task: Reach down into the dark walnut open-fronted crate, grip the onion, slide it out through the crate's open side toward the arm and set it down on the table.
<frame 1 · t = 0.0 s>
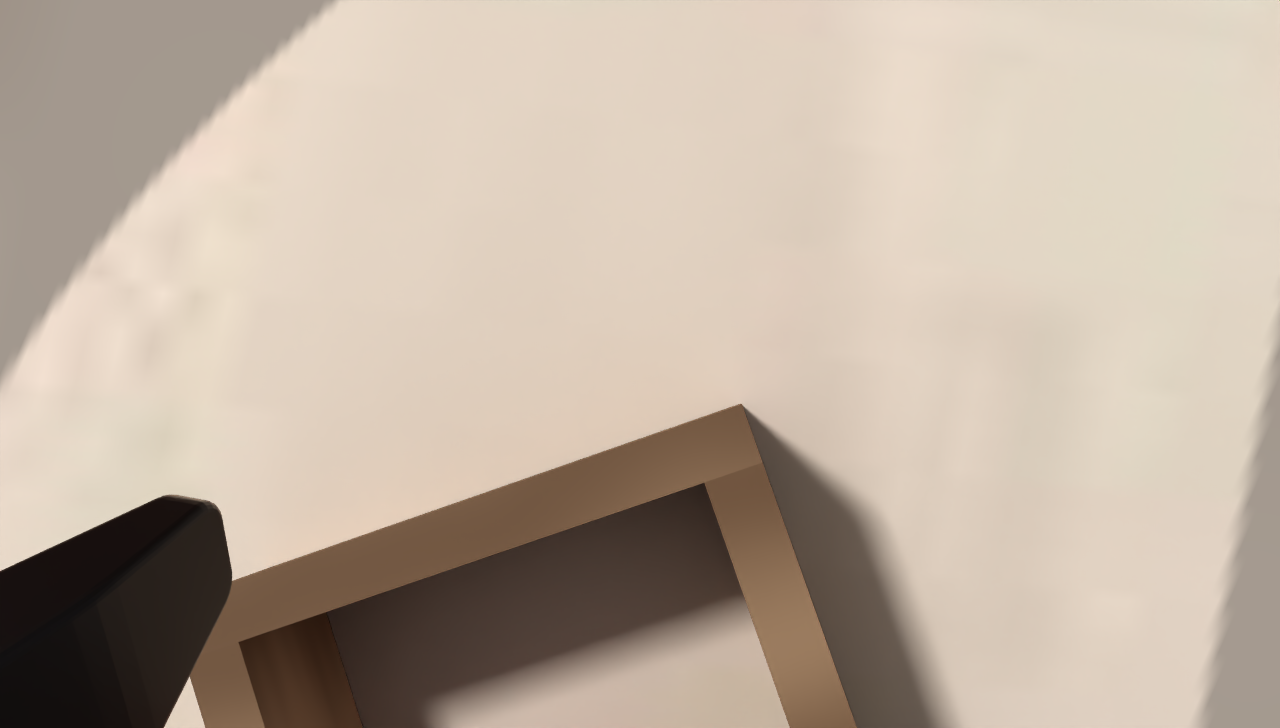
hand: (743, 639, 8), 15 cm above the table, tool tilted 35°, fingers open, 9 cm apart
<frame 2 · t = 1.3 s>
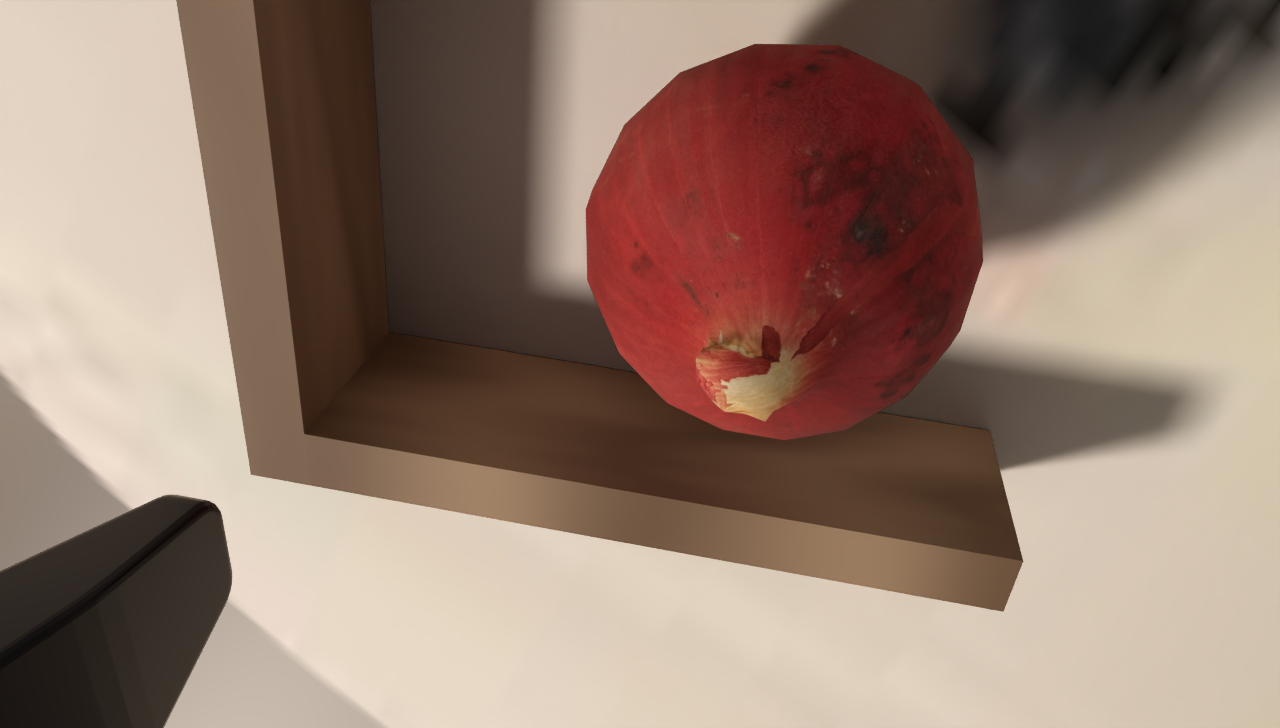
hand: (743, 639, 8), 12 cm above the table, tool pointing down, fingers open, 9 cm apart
onion: (789, 161, 18), resting in crate
crate: (676, 149, 18), on the table
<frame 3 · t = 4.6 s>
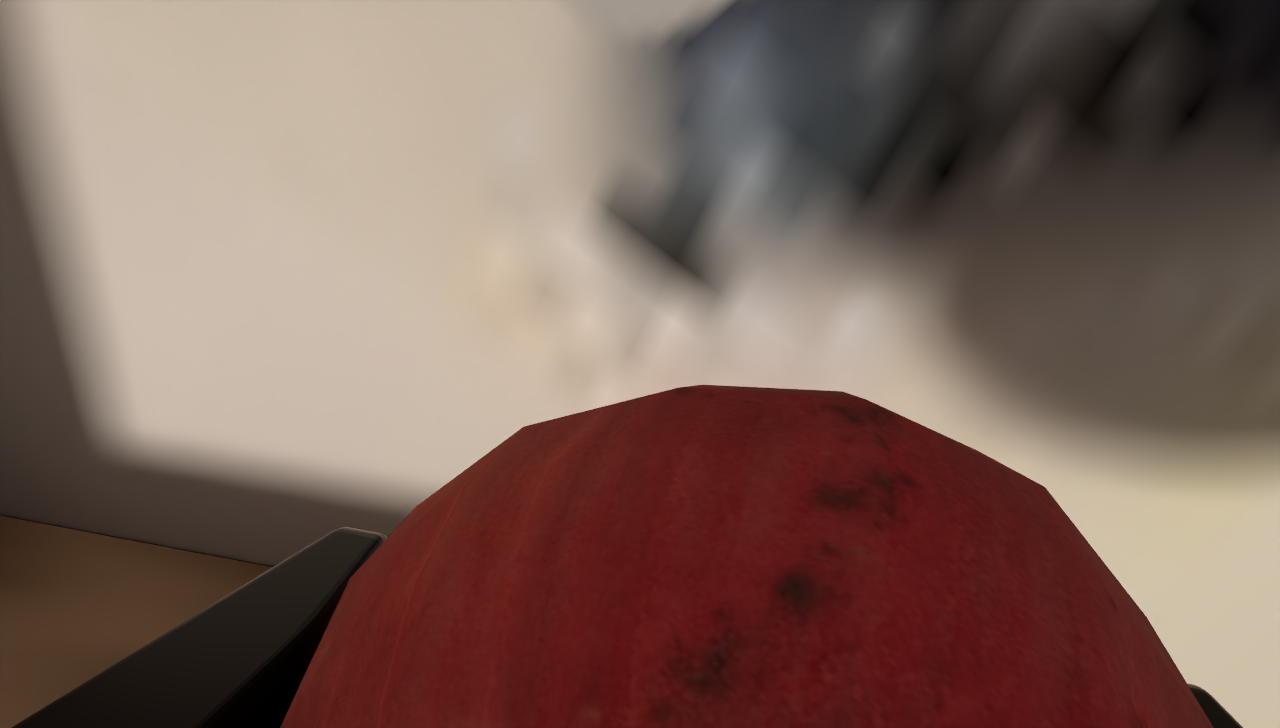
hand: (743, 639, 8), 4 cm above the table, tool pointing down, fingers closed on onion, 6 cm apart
onion: (761, 473, 10), point 2 cm above the table, touching gripper
crate: (244, 272, 12), on the table
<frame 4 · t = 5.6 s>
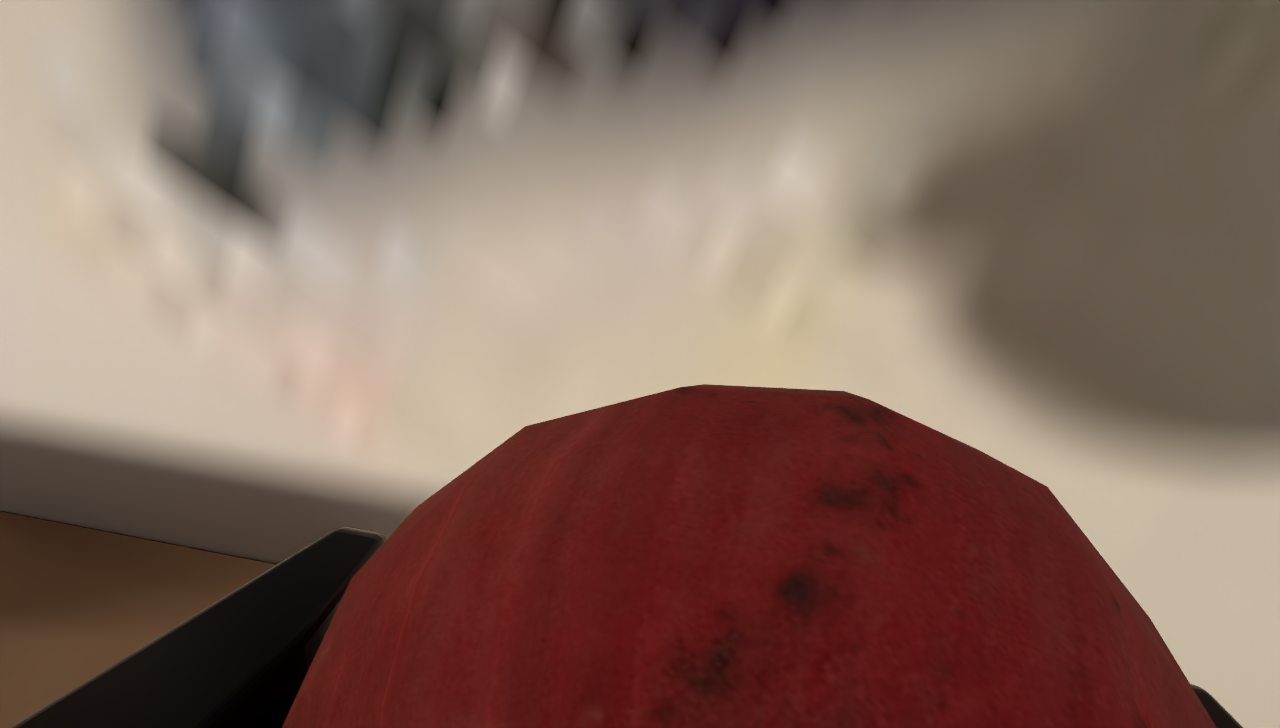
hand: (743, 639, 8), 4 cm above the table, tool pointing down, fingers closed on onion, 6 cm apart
onion: (763, 473, 10), point 2 cm above the table, touching gripper
when the fingers open (3 cm above the table, at t = 6.4 s): onion stays where it is, on the table.
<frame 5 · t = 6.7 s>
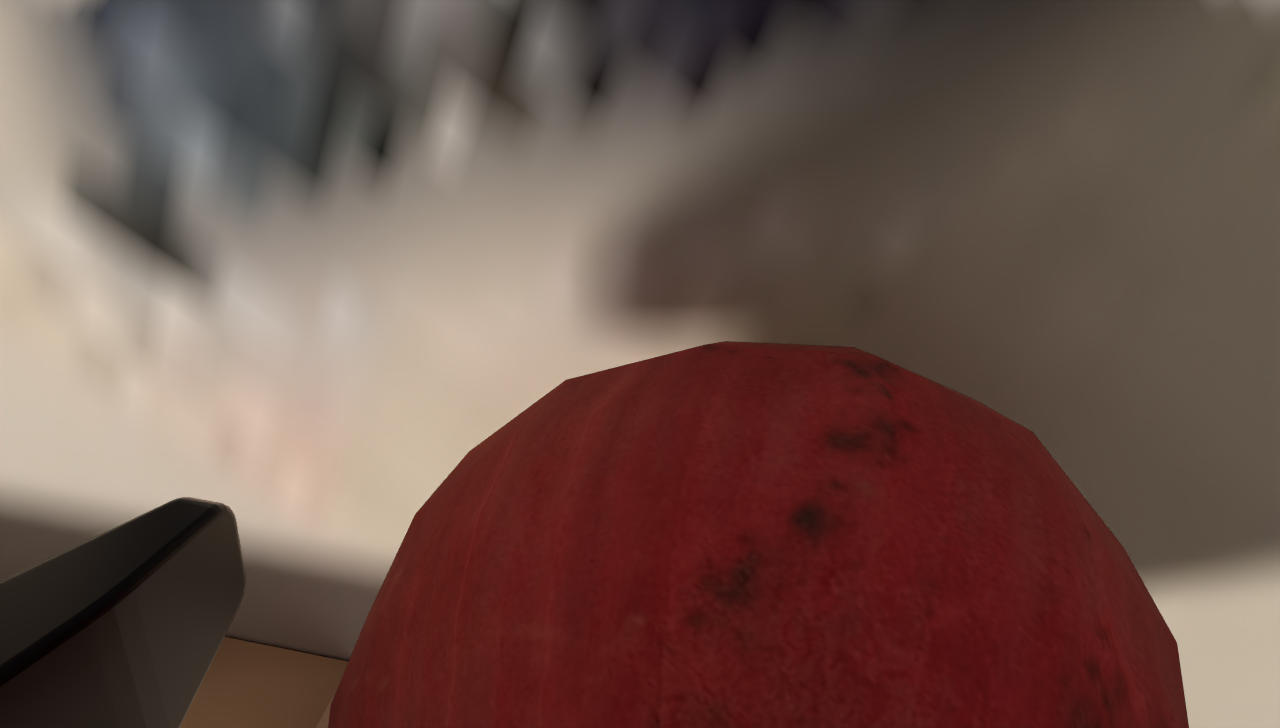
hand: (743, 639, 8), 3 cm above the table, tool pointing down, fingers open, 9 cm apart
onion: (779, 421, 10), on the table
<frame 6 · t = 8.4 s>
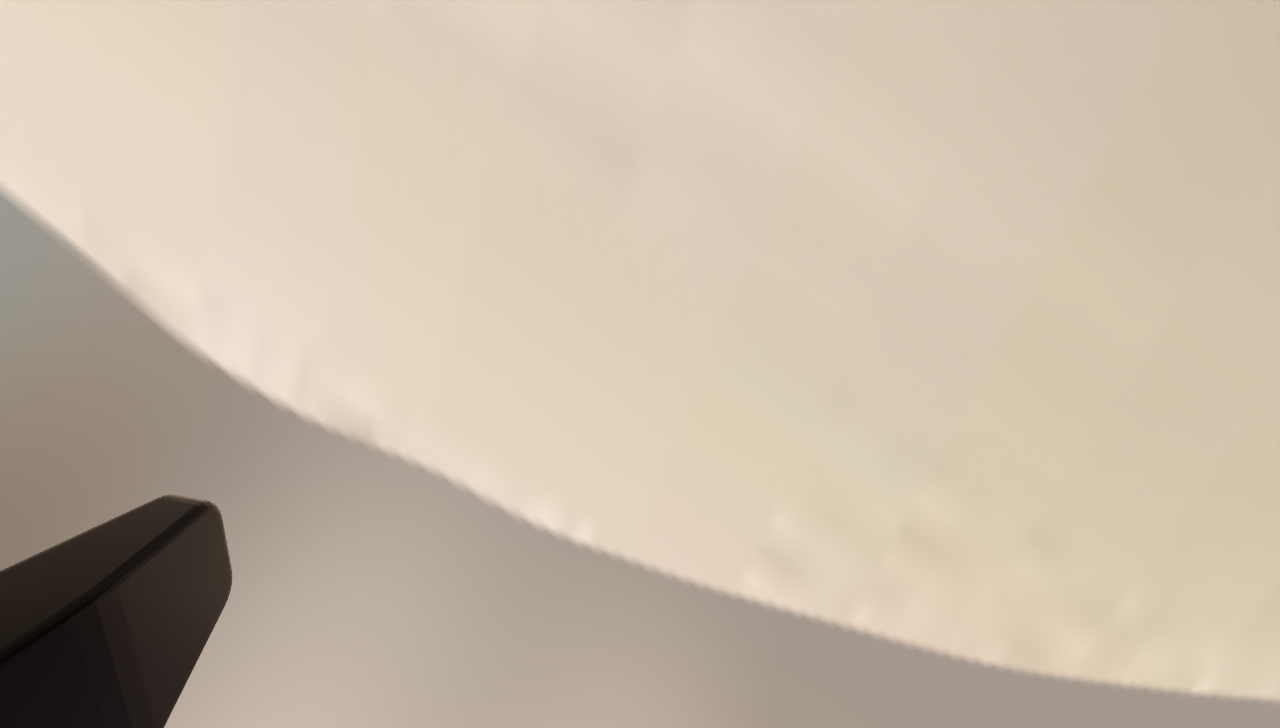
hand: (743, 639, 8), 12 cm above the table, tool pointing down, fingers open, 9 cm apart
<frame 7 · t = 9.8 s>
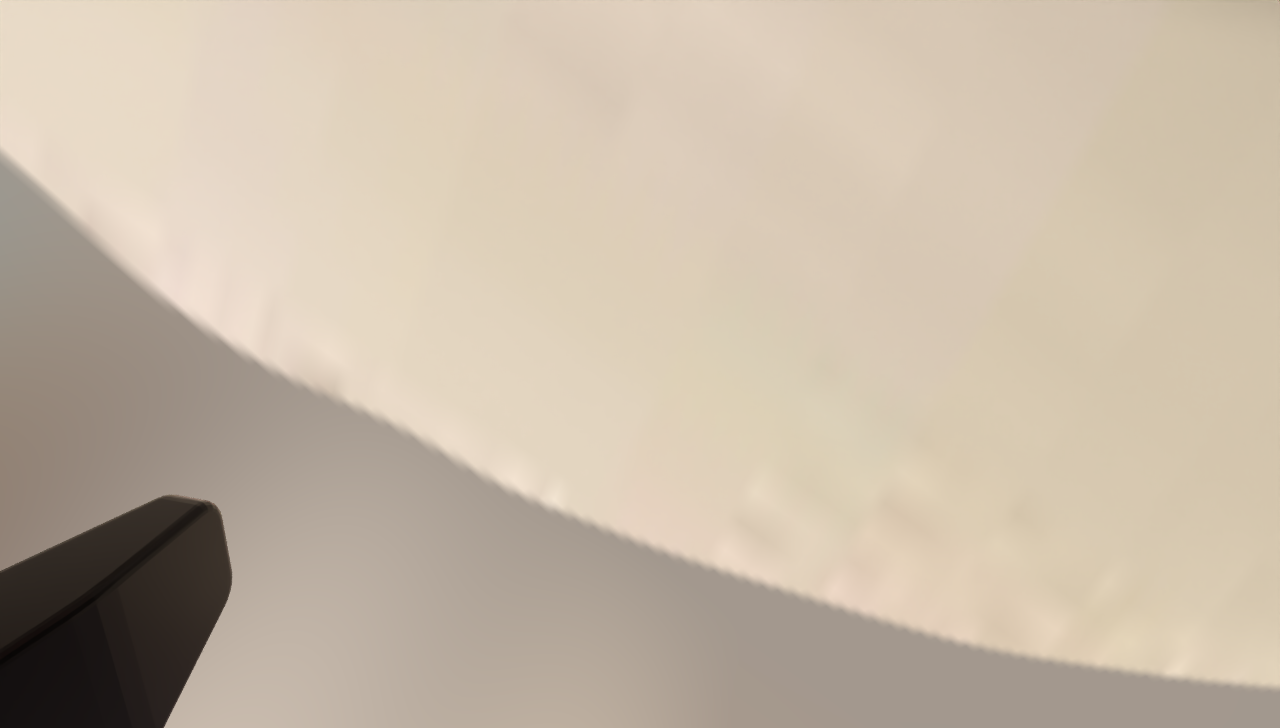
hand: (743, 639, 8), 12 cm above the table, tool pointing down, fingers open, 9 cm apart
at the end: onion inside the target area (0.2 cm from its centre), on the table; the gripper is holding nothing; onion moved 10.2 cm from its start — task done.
